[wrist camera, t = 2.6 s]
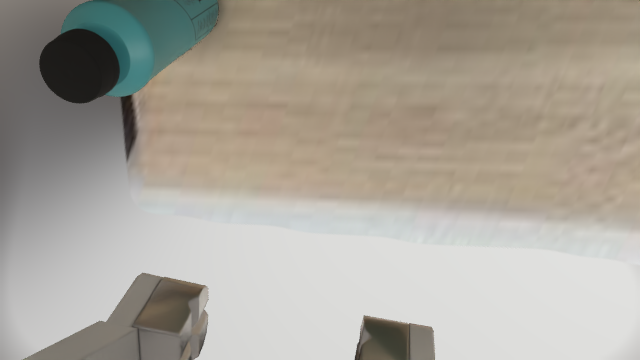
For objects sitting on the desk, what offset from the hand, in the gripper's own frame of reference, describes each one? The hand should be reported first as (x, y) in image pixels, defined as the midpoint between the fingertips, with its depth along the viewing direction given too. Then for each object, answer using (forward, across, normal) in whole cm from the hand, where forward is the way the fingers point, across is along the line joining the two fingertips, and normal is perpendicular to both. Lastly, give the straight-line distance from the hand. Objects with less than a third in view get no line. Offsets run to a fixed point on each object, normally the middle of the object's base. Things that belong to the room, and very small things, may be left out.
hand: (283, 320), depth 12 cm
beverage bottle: (+39, +16, +3) cm, 43 cm away
